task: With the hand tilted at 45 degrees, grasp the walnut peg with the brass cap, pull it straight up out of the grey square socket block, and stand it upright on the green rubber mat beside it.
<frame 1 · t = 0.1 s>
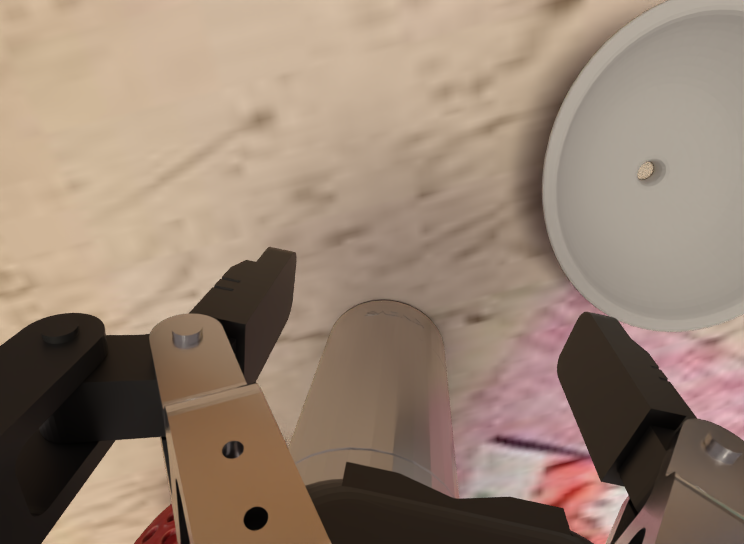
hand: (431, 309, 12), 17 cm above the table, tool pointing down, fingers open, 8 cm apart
plant pot: (238, 497, 42), on the table
dish: (641, 169, 26), on the table
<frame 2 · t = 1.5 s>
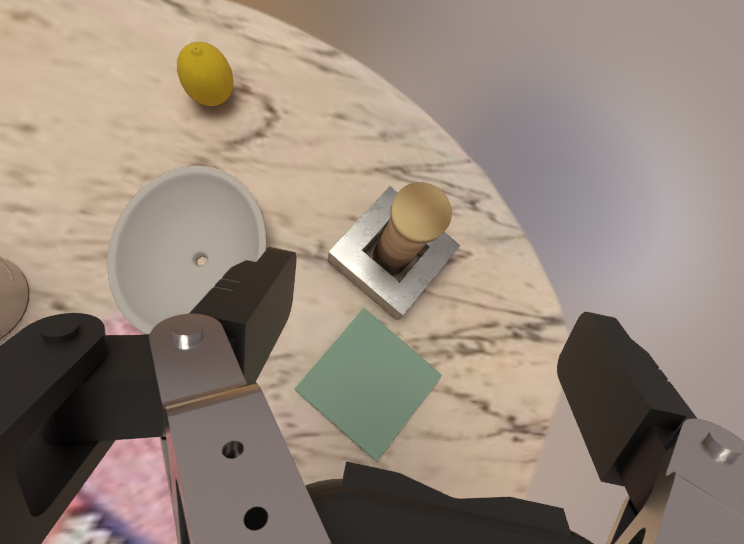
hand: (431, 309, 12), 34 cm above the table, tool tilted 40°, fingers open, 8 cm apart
grey square socket block: (389, 258, 48), on the table
dish: (203, 261, 45), on the table
mat: (369, 381, 44), on the table
lemon: (215, 99, 49), on the table
peg: (403, 238, 40), in the grey square socket block
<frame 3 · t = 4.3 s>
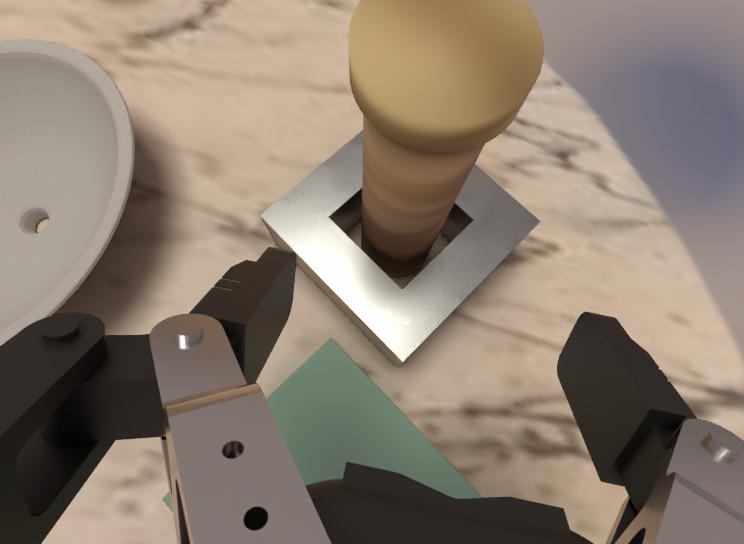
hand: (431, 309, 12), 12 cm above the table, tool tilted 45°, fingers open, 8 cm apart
grey square socket block: (394, 244, 25), on the table
dish: (49, 228, 25), on the table
mat: (326, 494, 21), on the table
peg: (409, 185, 18), in the grey square socket block
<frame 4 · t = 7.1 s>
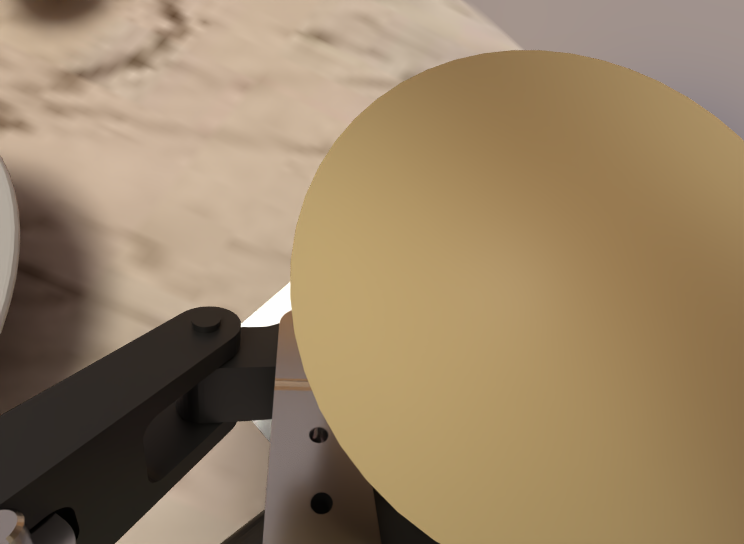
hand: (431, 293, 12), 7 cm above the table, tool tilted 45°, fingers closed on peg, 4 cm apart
grey square socket block: (396, 371, 18), on the table
peg: (425, 354, 11), in the grey square socket block, touching gripper
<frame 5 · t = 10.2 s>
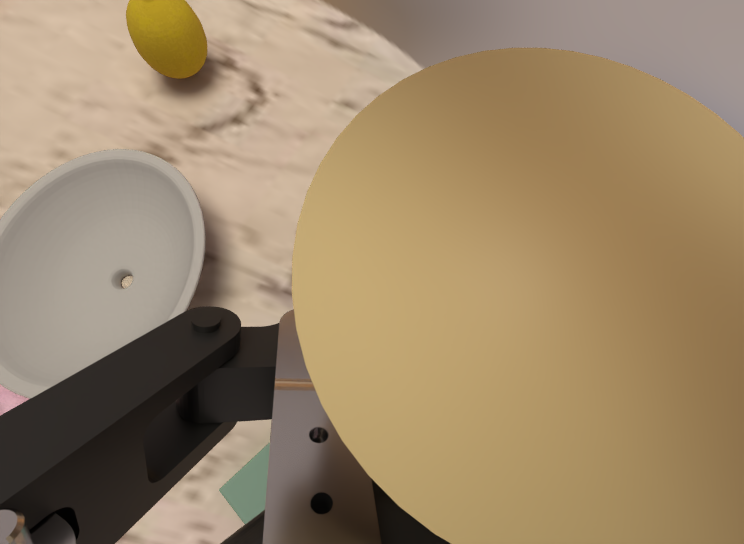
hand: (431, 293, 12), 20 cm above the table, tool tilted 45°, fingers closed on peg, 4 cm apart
dish: (130, 283, 33), on the table
mat: (335, 490, 29), on the table
lemon: (188, 73, 38), on the table
peg: (425, 353, 11), point 21 cm above the table, touching gripper
when the fingers open (8 cm above the table, at t = 13.6 s): peg stays where it is, resting on mat.
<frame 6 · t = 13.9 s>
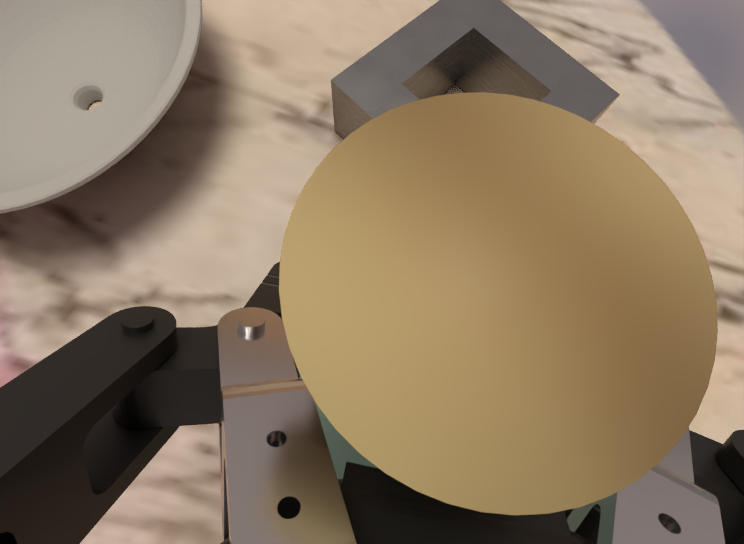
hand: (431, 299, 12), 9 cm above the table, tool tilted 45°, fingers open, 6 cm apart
grey square socket block: (457, 136, 24), on the table
dish: (100, 111, 24), on the table
mat: (393, 374, 20), on the table
peg: (414, 354, 12), on the mat, point 9 cm above the table
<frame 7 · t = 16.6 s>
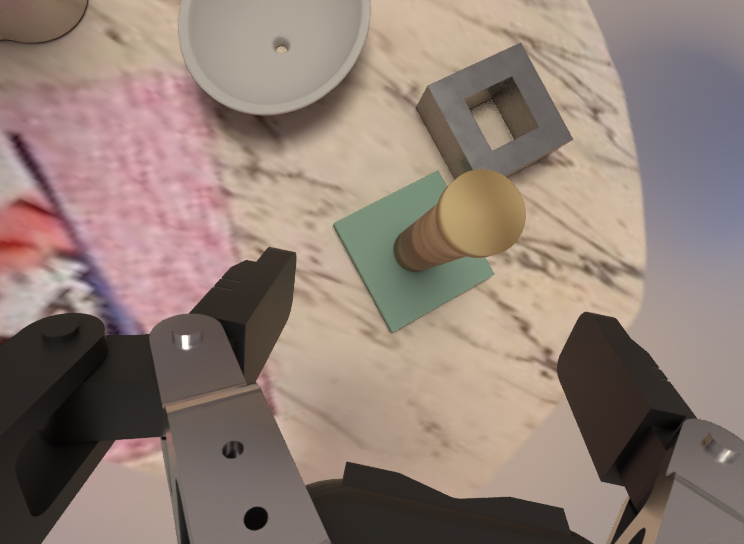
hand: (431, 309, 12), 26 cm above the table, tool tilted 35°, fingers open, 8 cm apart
grey square socket block: (483, 131, 41), on the table
dish: (282, 53, 39), on the table
mat: (413, 250, 39), on the table
peg: (441, 235, 30), on the mat, point 9 cm above the table
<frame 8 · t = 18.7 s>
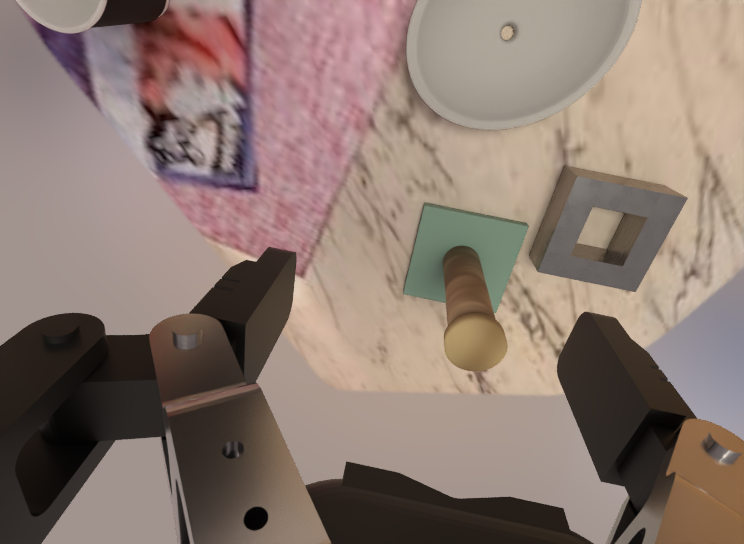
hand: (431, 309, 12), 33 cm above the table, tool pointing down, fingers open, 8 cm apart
grey square socket block: (593, 222, 43), on the table
dish: (506, 32, 37), on the table
mat: (461, 258, 47), on the table
peg: (467, 297, 39), on the mat, point 9 cm above the table
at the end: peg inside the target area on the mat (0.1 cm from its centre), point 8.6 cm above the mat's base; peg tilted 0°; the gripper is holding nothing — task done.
